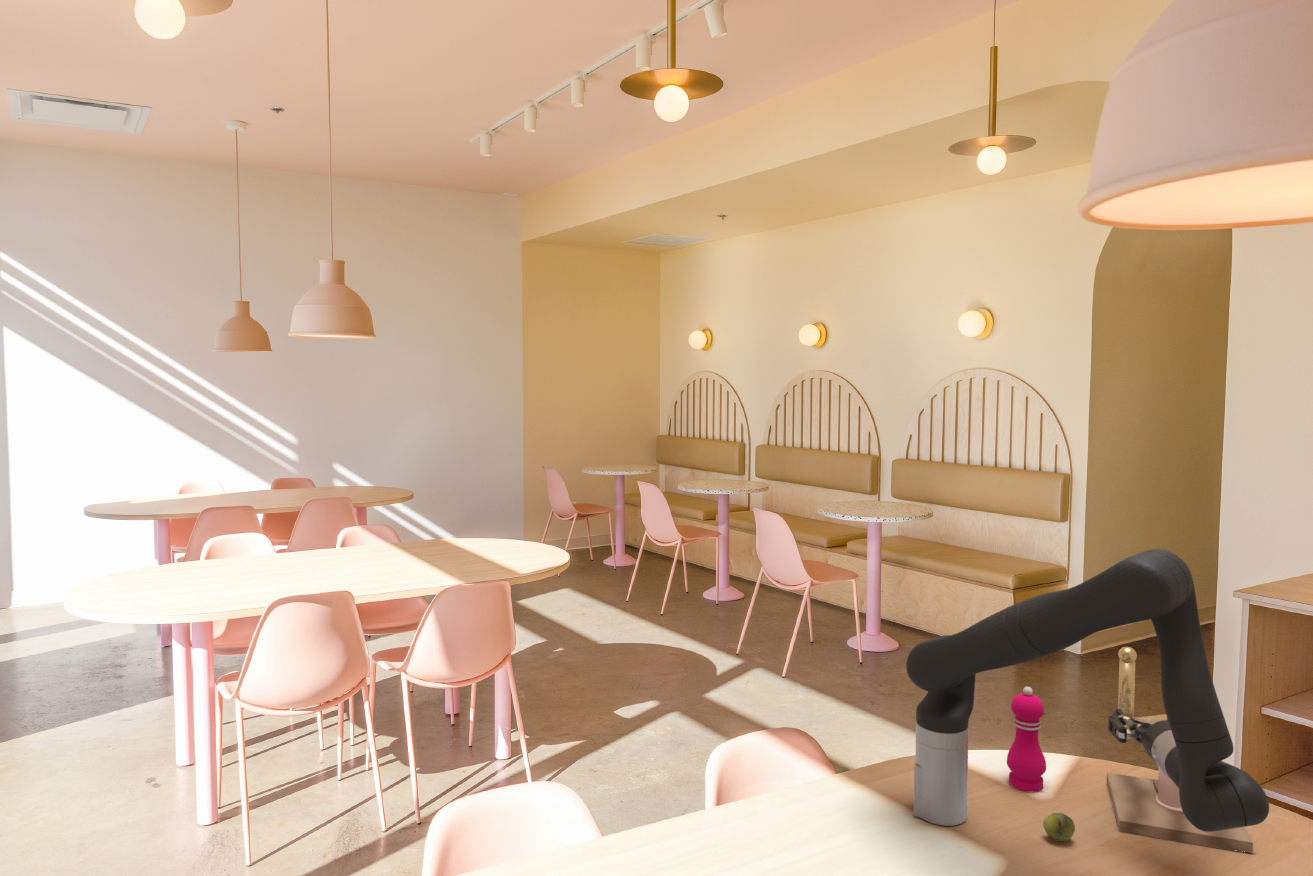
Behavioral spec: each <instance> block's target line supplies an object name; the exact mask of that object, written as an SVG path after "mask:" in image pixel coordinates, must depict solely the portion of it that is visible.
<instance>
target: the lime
mask: <svg viewBox="0 0 1313 876" xmlns="http://www.w3.org/2000/svg"><path fill="white" fill-rule="evenodd" d="M1043 829H1044V831H1045V833H1046V834H1047V836H1048V837H1050V838H1051V839H1053V840H1054V841H1055V842H1066V841H1069V840H1071V838H1072V837H1073V835H1074V833H1075V831H1076V825H1075V823H1074V820H1073V819H1072V817H1070V816H1069V815H1067V814H1065V813H1062V812H1053V813H1051V814H1050V815H1047V816H1045V818H1044V820H1043Z"/></svg>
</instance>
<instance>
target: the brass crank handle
mask: <svg viewBox="0 0 1313 876" xmlns="http://www.w3.org/2000/svg"><path fill="white" fill-rule="evenodd" d="M1137 657H1138V656H1137V652H1136V650H1135V649H1134V648H1132V647H1130V646H1123V647H1121V648H1120V649H1119V650H1118V658H1119V666H1118V697H1117V699H1118V700H1117V701H1118V702H1117V709H1121V711H1122V712H1123V713H1124V714H1125V715H1126V717H1129V718H1134V716H1135V693H1136V692H1135V690H1136V689H1135V688H1136V687H1135V686H1136V685H1135V684H1136V660H1137ZM1136 717H1137V718H1140V719H1142V720H1145V721H1148V722H1149V721H1152V722H1155V723H1156V722H1159V721H1163V720H1167V715H1166V713H1165V714H1156V715H1147V716H1140V717H1138V716H1136ZM1126 726H1127V728H1129V723H1128V722H1126ZM1139 726H1140V724H1138V727H1139Z"/></svg>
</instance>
